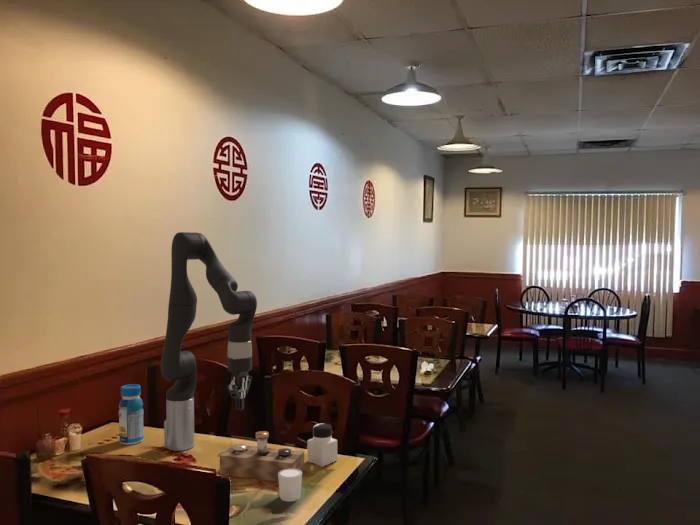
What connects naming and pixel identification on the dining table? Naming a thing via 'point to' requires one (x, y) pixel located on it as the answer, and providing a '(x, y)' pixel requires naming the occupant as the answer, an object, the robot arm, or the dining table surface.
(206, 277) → the robot arm
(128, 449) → the dining table surface
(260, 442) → the copper-capped glass cylinder
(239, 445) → the cream plunger
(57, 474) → the dining table surface
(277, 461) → the walnut block
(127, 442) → the beverage bottle
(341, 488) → the dining table surface
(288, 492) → the white cup
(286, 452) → the grey capped glass jar
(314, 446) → the medicine bottle
